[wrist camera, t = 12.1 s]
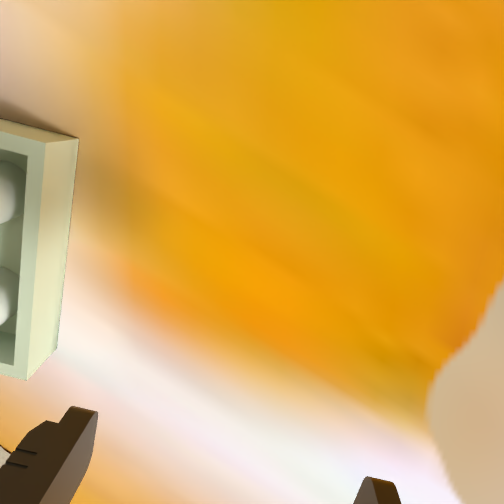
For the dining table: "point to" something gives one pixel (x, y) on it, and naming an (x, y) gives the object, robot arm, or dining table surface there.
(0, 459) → the condiment
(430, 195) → the dining table surface
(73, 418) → the robot arm
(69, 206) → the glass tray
